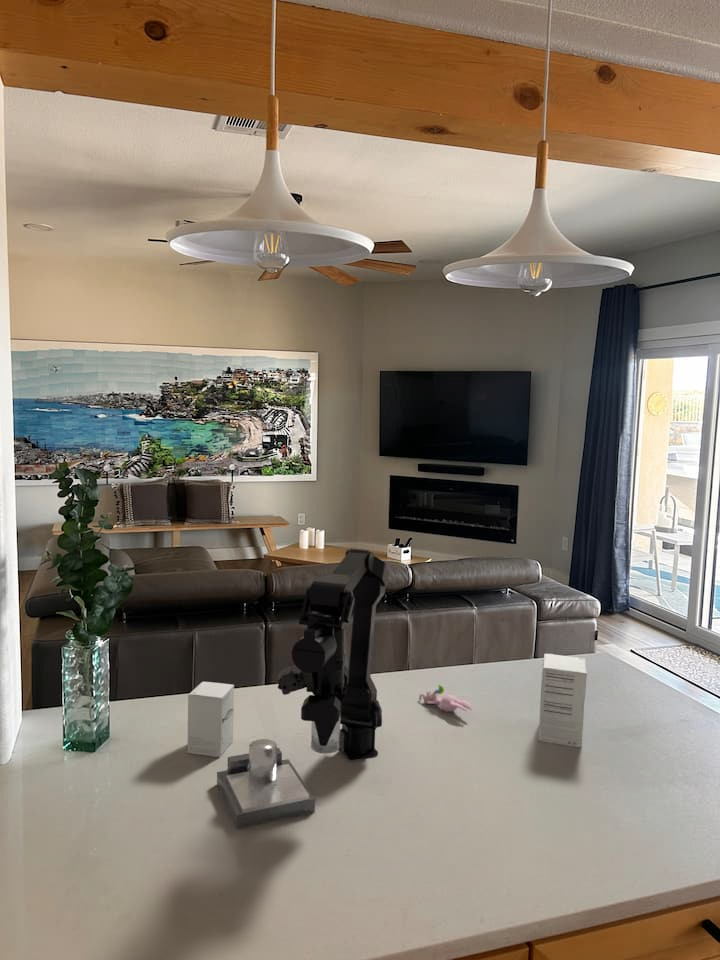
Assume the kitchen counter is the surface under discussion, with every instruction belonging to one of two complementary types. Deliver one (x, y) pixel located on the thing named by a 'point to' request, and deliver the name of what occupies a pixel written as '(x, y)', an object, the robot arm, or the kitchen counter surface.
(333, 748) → the cylinder
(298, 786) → the dial scale
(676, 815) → the kitchen counter surface
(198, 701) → the supplement box
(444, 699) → the rabbit figure
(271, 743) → the cylinder
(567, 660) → the supplement box
